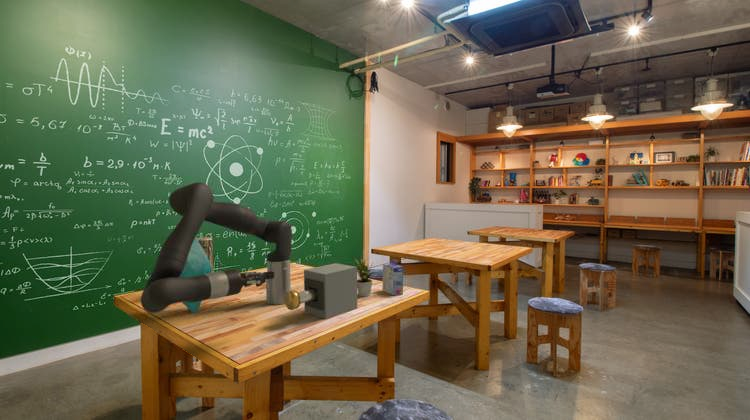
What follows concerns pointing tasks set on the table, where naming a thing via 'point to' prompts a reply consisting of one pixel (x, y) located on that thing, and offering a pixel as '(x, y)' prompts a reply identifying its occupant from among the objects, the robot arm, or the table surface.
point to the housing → (334, 289)
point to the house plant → (364, 279)
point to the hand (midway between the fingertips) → (272, 274)
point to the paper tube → (207, 249)
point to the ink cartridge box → (393, 278)
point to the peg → (299, 298)
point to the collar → (320, 293)
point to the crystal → (195, 269)
